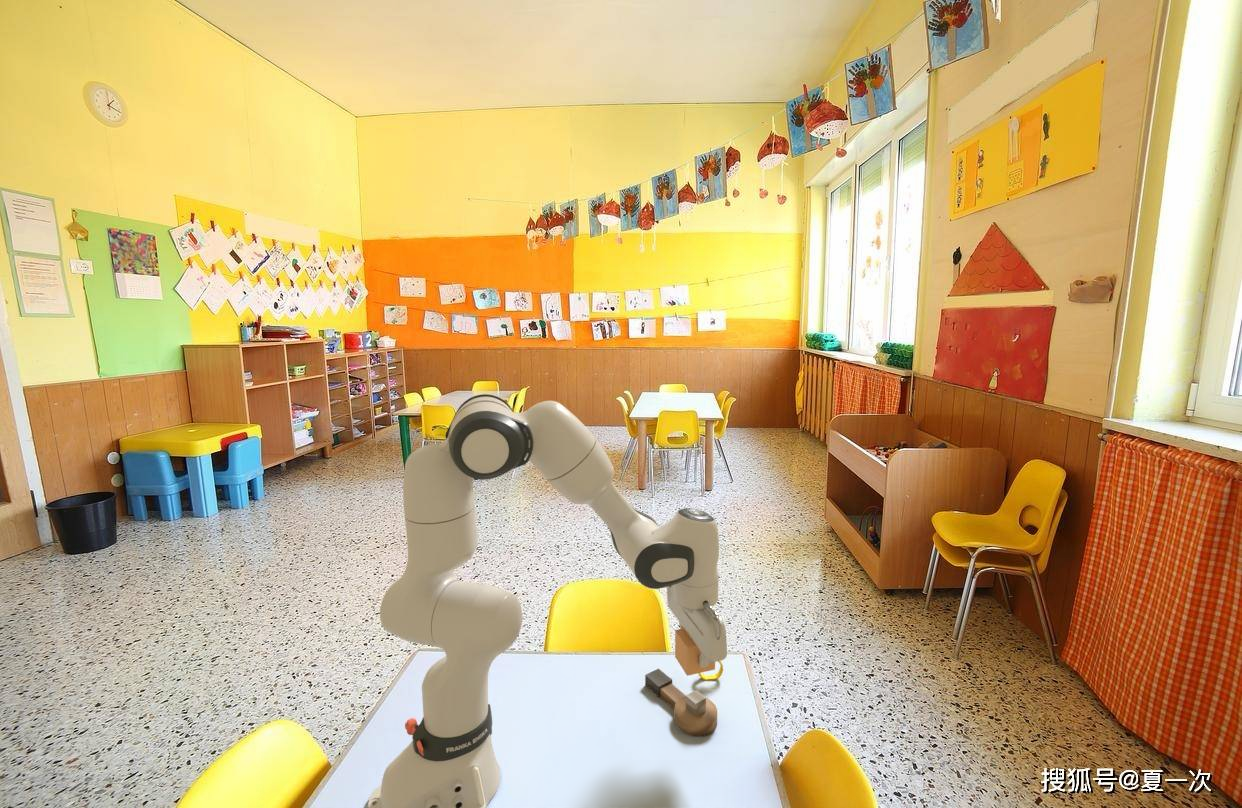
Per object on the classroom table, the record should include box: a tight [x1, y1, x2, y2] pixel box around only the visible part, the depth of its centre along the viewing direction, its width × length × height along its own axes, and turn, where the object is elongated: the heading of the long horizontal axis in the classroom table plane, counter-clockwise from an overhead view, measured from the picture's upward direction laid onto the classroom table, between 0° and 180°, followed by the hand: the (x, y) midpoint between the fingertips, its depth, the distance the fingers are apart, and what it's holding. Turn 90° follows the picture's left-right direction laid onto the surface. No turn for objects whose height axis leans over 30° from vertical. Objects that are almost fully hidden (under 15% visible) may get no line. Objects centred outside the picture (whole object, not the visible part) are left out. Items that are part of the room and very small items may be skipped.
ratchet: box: [644, 668, 718, 738], centre depth 114 cm, size 9×20×6 cm, turn 35°
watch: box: [697, 660, 724, 681], centre depth 123 cm, size 6×3×6 cm, turn 92°
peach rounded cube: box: [674, 628, 716, 677], centre depth 104 cm, size 6×6×6 cm
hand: (694, 653), depth 104 cm, fingers closed on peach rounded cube, 6 cm apart
